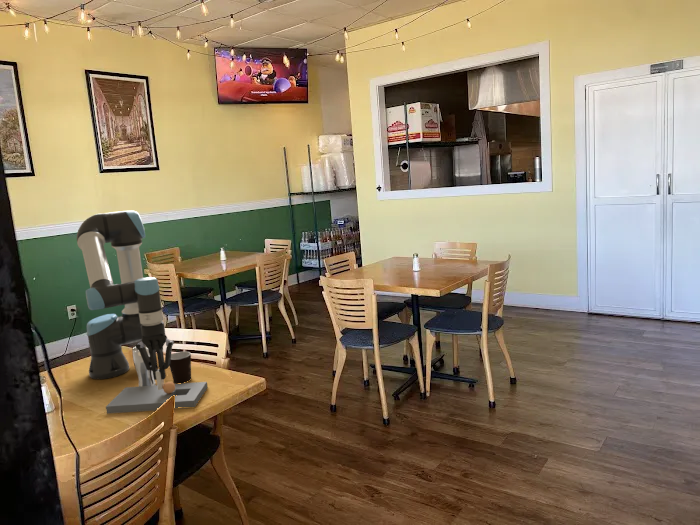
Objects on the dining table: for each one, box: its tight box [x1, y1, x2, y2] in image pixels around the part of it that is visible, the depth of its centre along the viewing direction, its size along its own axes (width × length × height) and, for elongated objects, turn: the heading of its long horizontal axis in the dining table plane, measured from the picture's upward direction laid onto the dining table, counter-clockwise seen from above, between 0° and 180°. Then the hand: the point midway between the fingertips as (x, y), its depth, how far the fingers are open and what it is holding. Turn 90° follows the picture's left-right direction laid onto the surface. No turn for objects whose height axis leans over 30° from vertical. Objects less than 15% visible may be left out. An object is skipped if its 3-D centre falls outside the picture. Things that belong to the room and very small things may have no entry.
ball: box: [163, 381, 175, 394], centre depth 191 cm, size 4×4×4 cm
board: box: [105, 381, 209, 414], centre depth 191 cm, size 30×16×2 cm, turn 89°
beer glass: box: [131, 346, 157, 387], centre depth 205 cm, size 7×7×15 cm
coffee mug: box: [169, 351, 192, 384], centre depth 209 cm, size 12×9×10 cm
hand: (161, 388), depth 191 cm, fingers closed
